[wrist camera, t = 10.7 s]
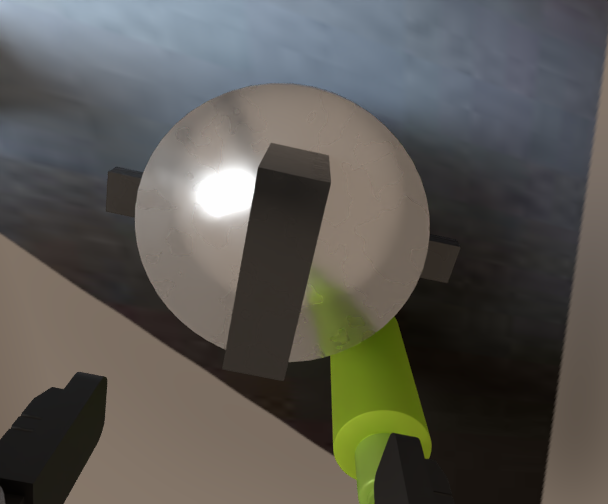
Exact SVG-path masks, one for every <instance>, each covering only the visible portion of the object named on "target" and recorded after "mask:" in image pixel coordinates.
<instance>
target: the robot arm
mask: <svg viewBox="0 0 608 504" xmlns="http://www.w3.org/2000/svg"><path fill="white" fill-rule="evenodd" d="M106 393H107V378H106V377H104V376H98V375H93V374H88V373H82V372H77V373H76V374H75V375H74V377H73V378H72V379H71V380H70V382H69V383H68V385H67V386H66V387H65V388H64V389H59V388H54V387H52V388H50V389H48V390H47V391H45V392H44V393H42V394H41V395H39V396H37V397H35V398H34V399H33V400H32V401H31V403H30V404H29V405H28V406H27V407H26V409H25V410H24V411H23V412H22V414H21V416H20V417H18V419H17V420H16V421H15V422H14V423H13V425H12V427H11V429H9V430H8V431H7V432H6V433H5V435H4V436H3V437H2V438H1V439H0V504H64V502H65V500H66V498H67V497H68V495H69V493H70V491H71V489H72V488H73V486H74V484H75V482H76V480H77V479H78V477H79V475H80V473H81V472H82V470H83V468H84V466H85V464H86V463H87V461H88V459H89V457H90V456H91V454H92V452H93V450H94V448H95V447H96V445H97V443H98V441H99V438H100V436H101V433H102V430H103V426H104V421H105V407H106ZM374 500H375V504H455V503H454V500H453V498H452V493H451V490H450V486H449V483H448V479H447V477H446V475H445V474H444V472H443V471H442V469H441V468H440V467H439V465H438V464H437V462H436V461H435V460H430V459H425V457H424V453H423V449H422V445H421V442H420V439H419V438H418V437H413V436H408V435H402V434H397V433H391V434H390V436H389V438H388V441H387V444H386V446H385V449H384V452H383V455H382V457H381V460H380V463H379V466H378V468H377V471H376V475H375V480H374Z"/></svg>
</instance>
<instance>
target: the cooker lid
mask: <svg viewBox="0 0 608 504" xmlns="http://www.w3.org/2000/svg"><path fill="white" fill-rule="evenodd" d="M135 231H136V239H137V246H138V249H139V253H140V257H141V260H142V263H143V266H144V268H145V271H146V273H147V275H148V278H149V280H150V281H151V283H152V285H153V287H154V288H155V290H156V292H157V294H158V295H159V296H160V298H161V299H162V300H163V302H164V303H165V304H166V306H167V307H168V308H169V309H170V310H171V311H172V312H173V313H174V315H175V316H176V317H177V318H178V319H179V320H180V321H181V322H183V323H184V324H185V325H186V326H188V327H189V328H190V329H191V330H192V331H194V332H195V333H197V334H198V335H200V336H201V337H203V338H204V339H206V340H207V341H209V342H211V343H213V344H215V345H217V346H219V347H221V348H223V349H226V351H225V357H224V363H223V368H222V369H224V370H229V371H234V372H239V373H245V374H250V375H255V376H260V377H265V378H271V379H276V380H281V381H284V378H285V374H286V370H287V365H288V362H295V361H307V360H313V359H318V358H323V357H327V356H330V355H333V354H336V353H339V352H342V351H344V350H347V349H349V348H351V347H353V346H356V345H357V344H359V343H361V342H362V341H364V340H366V339H367V338H369V337H371V336H372V335H373V334H375V333H376V332H377V331H379V330H380V329H381V328H383V327H384V326H385V325H386V324H387V323H388V322H389V321H390V320H391V319H392V318H393V317H394V316H395V315H396V314H397V313H398V312H399V310H400V309H401V308H402V306H403V305H404V304H405V303H406V301H407V300H408V298H409V297H410V295H411V293H412V291H413V290H414V288H415V286H416V284H417V282H418V280H419V277H420V275H421V272H422V270H423V267H424V263H425V259H426V256H427V252H428V244H429V236H430V221H429V210H428V204H427V198H426V194H425V191H424V187H423V184H422V181H421V178H420V176H419V174H418V172H417V170H416V168H415V165H414V163H413V161H412V159H411V158H410V156H409V155H408V153H407V152H406V150H405V149H404V147H403V146H402V144H401V143H400V142H399V141H398V140H397V138H396V137H395V136H394V135H393V134H392V133H391V132H390V131H389V129H388V128H387V127H386V126H385V125H384V124H383V123H382V122H380V121H379V120H378V119H377V118H376V117H374V116H373V115H372V114H371V113H370V112H368V111H367V110H365V109H364V108H362V107H360V106H359V105H357V104H356V103H354V102H353V101H351V100H349V99H346V98H344V97H342V96H340V95H338V94H335V93H333V92H330V91H327V90H323V89H320V88H316V87H313V86H307V85H300V84H294V83H267V84H259V85H251V86H247V87H244V88H240V89H236V90H233V91H230V92H227V93H225V94H223V95H220V96H218V97H216V98H213V99H211V100H209V101H207V102H206V103H204V104H202V105H201V106H199V107H197V108H196V109H194V110H193V111H191V112H190V113H188V114H187V115H186V116H185V117H184V118H182V119H181V120H180V121H179V122H178V123H176V124H175V125H174V126H173V128H172V129H171V130H170V131H169V132H168V133H167V134H166V135H165V136H164V138H163V139H162V140H161V142H160V143H159V145H158V146H157V148H156V149H155V151H154V152H153V154H152V155H151V157H150V159H149V162H148V164H147V166H146V168H145V170H144V172H143V175H142V179H141V182H140V185H139V188H138V193H137V200H136V206H135Z"/></svg>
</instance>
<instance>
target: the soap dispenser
mask: <svg viewBox="0 0 608 504" xmlns="http://www.w3.org/2000/svg"><path fill="white" fill-rule="evenodd" d="M330 359H331V390H332V421H333V450H334V456H335V459H336V461H337V463H338V465H339V466H340V468H341V469H342V470H343V471H344V472H345V473H346V474H348V475H349V476H350V477H352V478H354V479H356V480H357V489H358V500H359V503H360V504H375V500H374V480H375V475H376V471H377V468H378V466H379V463H380V460H381V457H382V455H383V452H384V449H385V446H386V444H387V441H388V438H389V436H390V434H391V433H397V434H402V435H408V436H413V437H418V438H419V439H420V442H421V445H422V449H423V453H424V457H425V459H429V457H430V453H431V439H430V435H429V432H428V428H427V425H426V421H425V418H424V414H423V410H422V407H421V403H420V400H419V396H418V393H417V389H416V386H415V382H414V379H413V375H412V371H411V368H410V364H409V361H408V357H407V354H406V350H405V347H404V343H403V340H402V336H401V332H400V329H399V325H398V322H397V320H396V318H395V317H393V318H392V319H391V320H390V321H389V322H388V323H387V324H386V325H385V326H384V327H383V328H381V329H380V330H379V331H377V332H376V333H375V334H373V335H372V336H371V337H369V338H367V339H366V340H364V341H362V342H361V343H359V344H357V345H356V346H353V347H351V348H349V349H347V350H344V351H342V352H339V353H336V354H333V355H330Z"/></svg>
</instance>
